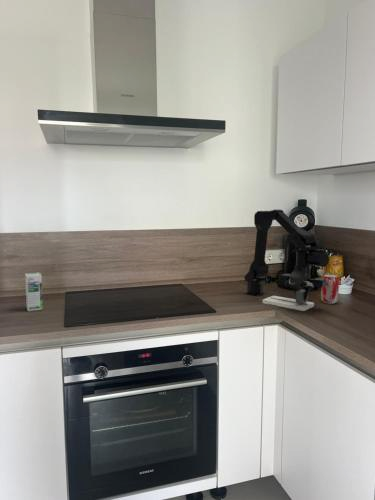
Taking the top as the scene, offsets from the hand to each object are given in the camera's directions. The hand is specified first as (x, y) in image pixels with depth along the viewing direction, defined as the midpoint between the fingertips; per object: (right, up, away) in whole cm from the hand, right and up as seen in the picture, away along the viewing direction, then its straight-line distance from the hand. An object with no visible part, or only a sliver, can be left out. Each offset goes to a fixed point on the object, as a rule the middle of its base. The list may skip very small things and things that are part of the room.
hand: (301, 300), depth 162 cm
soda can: (+15, -2, +9) cm, 17 cm away
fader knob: (0, -1, 0) cm, 1 cm away
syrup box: (-109, -3, -6) cm, 110 cm away
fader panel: (-5, -2, +4) cm, 7 cm away
